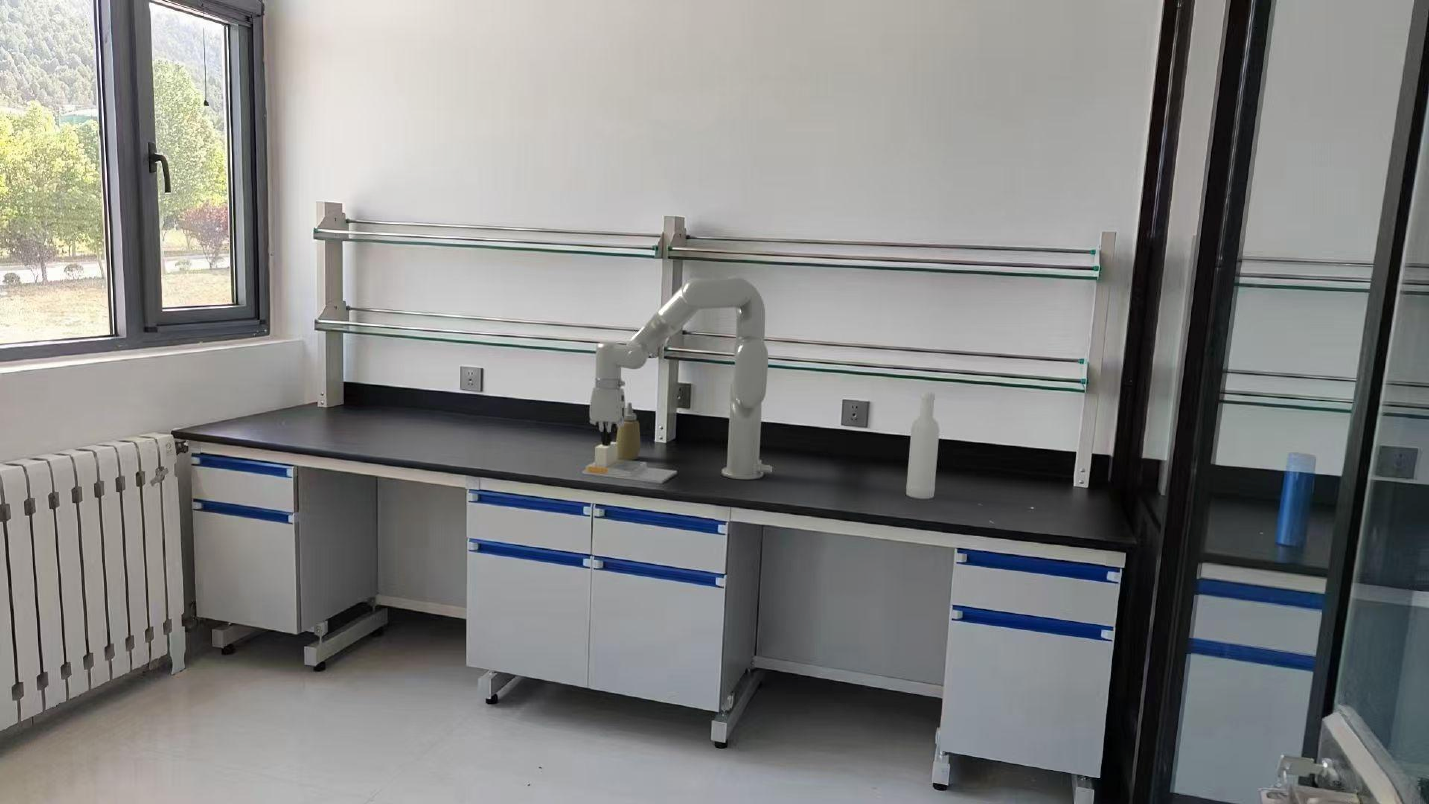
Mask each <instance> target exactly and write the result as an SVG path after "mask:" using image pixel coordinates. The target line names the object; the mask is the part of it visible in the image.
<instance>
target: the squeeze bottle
mask: <svg viewBox="0 0 1429 804" xmlns="http://www.w3.org/2000/svg"><path fill="white" fill-rule="evenodd" d="M625 407H626V417H625V420H624V426H622V427H617V433H616V441H615V442H617V443H618V452H617V458H618V459H621V460H630V461H635V460H636V459H638V455H639V453H640V451H641V448H642V446H641V431H640V422H639V421H638V420H637V414H636V413H634V410H633V405H632V402H627V403H626V406H625Z"/></svg>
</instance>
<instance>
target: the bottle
mask: <svg viewBox="0 0 1429 804" xmlns="http://www.w3.org/2000/svg"><path fill="white" fill-rule="evenodd" d="M935 399H936V396H935V393H934V392H933V391H932V392H931V391H922V392H921V395H920V409H919V416H918V417H917V418H916V419H914V421H913V423H912V425H911V427H910V429H911V430H910V441H909V443H910V444H909V454H908V456H909V457H908V466H907V479H906V486H905V487H906V488H905V489H906V491H905V492H906V493H905V494H906V495H907V496H908V497H909V498H912V499H913V498H914V499H920V500H929V499H932V498H934V497H935V490H936V471H937V461H938V449H939V438H940V429H939V424H938V422H937V421H936V419H935V418H934V410H935V409H934V408H935V407H934V406H935Z"/></svg>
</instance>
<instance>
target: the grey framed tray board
mask: <svg viewBox="0 0 1429 804" xmlns="http://www.w3.org/2000/svg"><path fill="white" fill-rule="evenodd" d="M647 465H648V462H646V461H637V460H623V459H619V458H617V464H615V465H613V466H611V467H609V468H603V467H595V461H593V462H591V463H589V464H587V465H585V469H583V470H582V475H590V476H595V477H596V476H598V477H604V478H605V477H606V478H613V479H622V480H629V481H630V480H631V481H638V482H644V483H645V482H646V483H654V484H655V483H656V484H663V483H665V482H666V481H668V480H669V479H671V478H673V477H674V476H675V475H677V474H678V473H677V470H671V469H663V468H655V467H648V466H647Z"/></svg>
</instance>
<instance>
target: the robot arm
mask: <svg viewBox="0 0 1429 804" xmlns="http://www.w3.org/2000/svg"><path fill="white" fill-rule="evenodd" d="M727 308H728V309H729V308H730V309H731V308H734V310H735V314H736V321H735V322H736V323H735V324H736V325H735V326H736V329H735V339H734V340H735V341H734V348H733V356H734V373H733V374H734V376H733V378H732V379H731V382H730V387H729V418H728V420H729V422H728V443H727V460H726V461H727V464H726V467H724V468H721V475H723V476H724V477H725V478H726V477H727V478H731V479H735V480H756V479H760V478H762V477H764V473H768V474H769V473H770V474H771V473H772V472H773V466H771V465H769V464H764V463H762V459H760V446H761V426H762V406H763V405H762V402H763V401H764V399H765V397H766V393H767V385H768V384H767V381H768V369H769V353H768V347H767V345H766V344H765V335H766V334H765V333H766V309H765V304H764V301H763V298H762V296H761V294H760V292H759V291H758V289H757V288H756V287H755V286H754V285H753V284H752V283H751V282H749V281H748V280H746V279H745V278H744V277H742V276H738V275H731V276H729V277H724V278H700V277H692V278H690V279H688V280H686V281H685V282H684V283H683V284H682V286H680V287H679V289H677V290H676V292H675V293H674V294H673V295H672V296H670V298H669V299H668V300H667V301H666V302H664V304H663V305H662V306H661V307H660V308H659V309H658V310H657V311H656V312H655V313H654V314H653V316H651V318H650V319H649V320H648V321H647V322H646V324H644V325H643V327H642V328H641V329H640V330H639V331H637V333H636V334H634V335H633V336H632V338H630V340H629V341H628V342H627V343H626V344H620V343H619V342H615V341H601V342H598V343H597V344H596V347H595V376H594V380H595V383H594V387H593V388H592V392H591V397H590V402H589V403H590V404H589V423H590V424H591V425H594V426H595V427H597V428H598V429H599V432H600V441H601V444H602V445H609V444H611V442H613V432H614V431H615V430H616V429H617V428H618V427H622V426H624V420H625V417H626V407H627V406H626V398H625V391H624V388H622V387H624V386H625V385H626V381H623V380H622V368H625V369H629V370H637V369H641V368H642V367H643V366H645V365H646V363H647V361H648V358H649V357H650V356H651V355H652V354H653V352H654V351H656V350H657V348H659V347H660V346H661V345H662V344H663V342H665V341H666V340H667V339H669V338H670V337H672V336H674V335H676V334H677V333H678V332H680V330H681V329H683V327H684V326H685V325H686V324H687V323H688V322H689V321H690V320H691V319H692V318H693V317H694V316H695V315H696V314H697V313H698V312H699V311H700V310H706V309H707V310H709V309H711V310H712V309H713V310H714V309H727Z"/></svg>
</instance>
